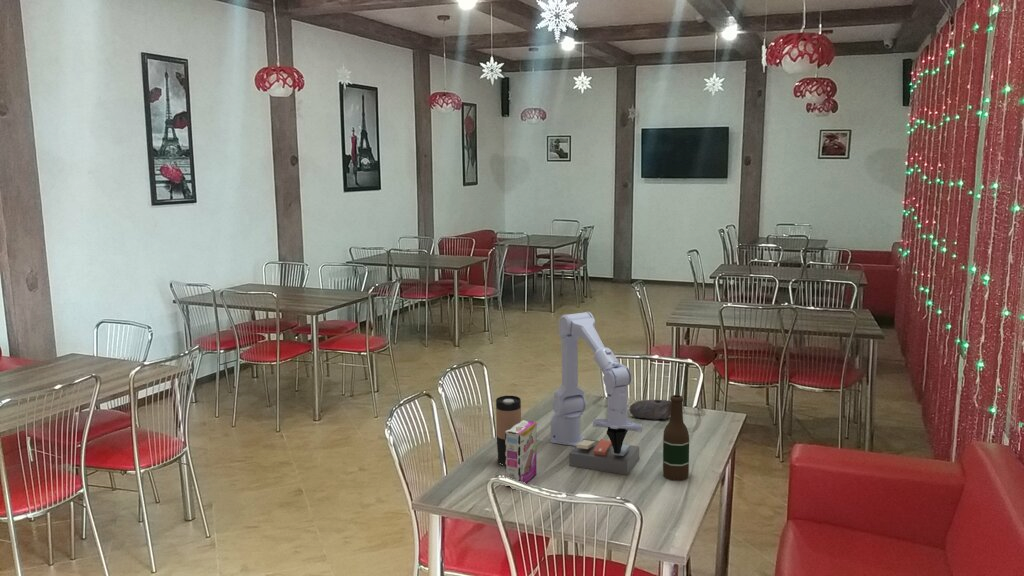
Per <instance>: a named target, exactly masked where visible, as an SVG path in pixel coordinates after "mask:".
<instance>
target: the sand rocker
mask: <svg viewBox="0 0 1024 576" xmlns="http://www.w3.org/2000/svg"><path fill="white" fill-rule="evenodd" d="M594 445H595V441H589V440H583V441H581V442H580V443H578V444H577V446H575V447H576V448H583V449H589V448H591V447H592V446H594Z"/></svg>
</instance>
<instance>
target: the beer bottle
mask: <svg viewBox="0 0 1024 576" xmlns="http://www.w3.org/2000/svg"><path fill="white" fill-rule="evenodd" d="M670 401H671V413H670V416H669V421H668V423H667V424H666V425H665V427H664V430H663V438H662V441H663V443H662V474H663V477H664V478H665V477H666V479H668V480H670V481H683V479H684V480H686V479H688V478H689V472H690V469H689V468H690V435H689V434H690V433H689V430H688V428H687V427H688V426H686V424H685V423H684V415H683V414H684V412H683V402H684V397H683V395H680V394H673V395H671V396H670Z"/></svg>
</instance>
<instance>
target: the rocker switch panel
mask: <svg viewBox="0 0 1024 576" xmlns="http://www.w3.org/2000/svg"><path fill="white" fill-rule="evenodd" d="M583 440H589V441H595V445H594V446H592V447H591V448H589V449H583V448H576V446H574V448H573V449H572V450H571V451H570V452H569V457H568V459H569V464H568V465H569V467H576V468H582V469H585V470H586V469H588V470H593V471H599V472H607V473H612V474H619V475H625V476H628V475H629V473H630V472H631V471H632V469H633V468H634V467H635V465H636V464H637V462H638V461H639V460H640V446H638V445H632V444H631V445H630V444H629V445H630V449H629V450H628V451H627V452H626V453H625V455H624V456H620V455H613V454H611V451H612V450H613V446H612V445H611V447H610V448H609V450H608V452H607V453H606V455H605V456H604V455H598V454H594V452H593V451H594V449H595V448H596V446H597V445H598V443H599V441H600V440H598V439H589V438H585V439H583ZM583 440H582V441H583Z"/></svg>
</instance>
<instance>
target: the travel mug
mask: <svg viewBox="0 0 1024 576" xmlns="http://www.w3.org/2000/svg"><path fill="white" fill-rule="evenodd" d="M521 404H522V403H521V398H520V397H518V396H517V395H501V396H498V397H497V398H496V399H495V407H496V408H495V410H496V411H495V414H496V415H495V417H496V418H495V419H496V420H495V421H496V423H495V424H496V447H497V451H496V452H497V462H499V463H501V464H503V465H506V464H505V431H507V430H508V429H510V428H511V427H513V426H514V425H516V424H518V423H519V422H521V421H522V407H521ZM499 463H498V464H499ZM503 465H502V466H503Z"/></svg>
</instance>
